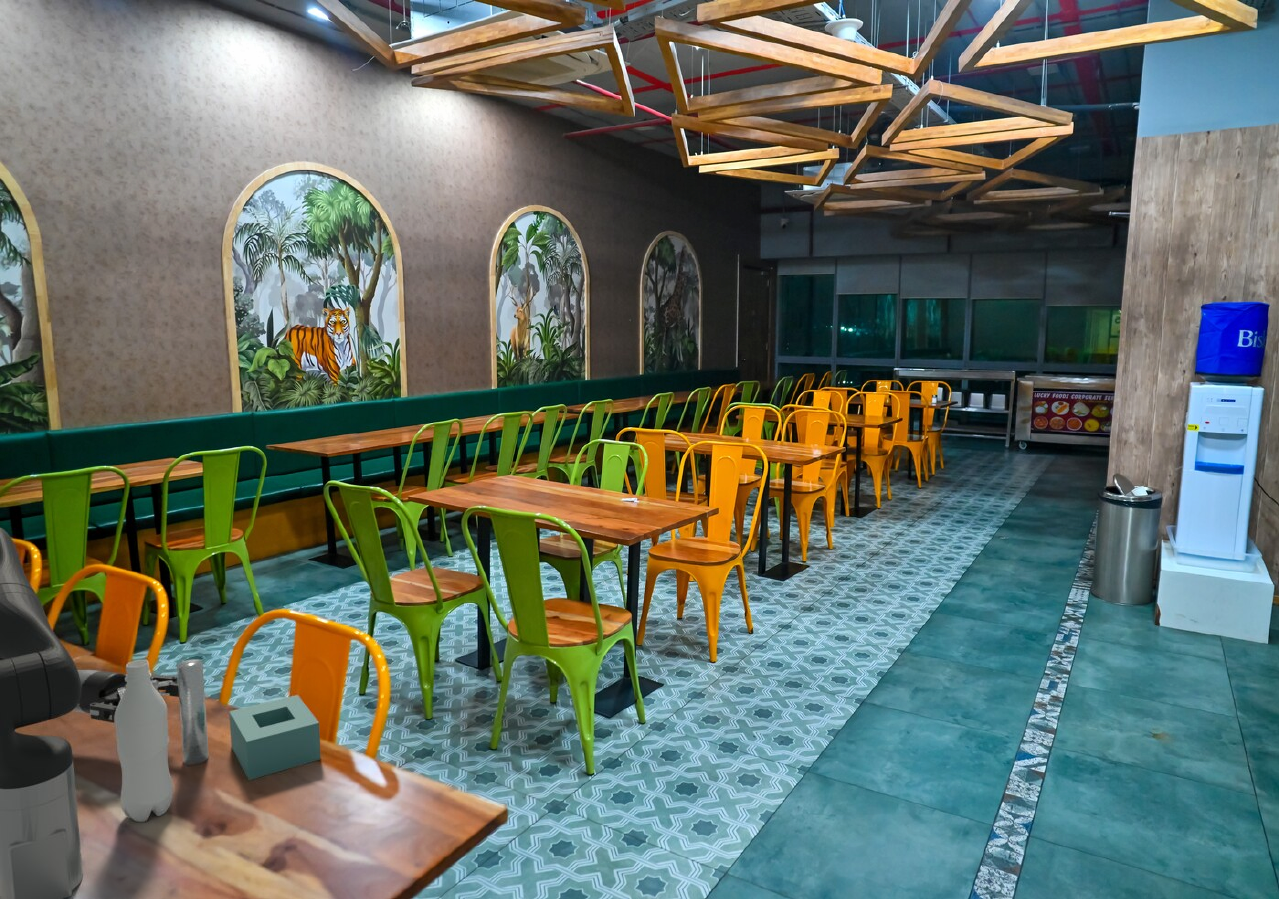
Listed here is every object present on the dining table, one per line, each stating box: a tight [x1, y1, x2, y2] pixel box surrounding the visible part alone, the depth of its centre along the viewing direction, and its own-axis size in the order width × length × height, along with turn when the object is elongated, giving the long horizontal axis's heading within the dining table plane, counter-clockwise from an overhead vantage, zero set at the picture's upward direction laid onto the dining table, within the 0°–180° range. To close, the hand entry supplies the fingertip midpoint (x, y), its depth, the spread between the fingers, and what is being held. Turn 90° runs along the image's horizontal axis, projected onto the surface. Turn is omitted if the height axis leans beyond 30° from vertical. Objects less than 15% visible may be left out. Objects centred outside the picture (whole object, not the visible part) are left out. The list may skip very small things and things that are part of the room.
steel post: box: [176, 658, 210, 766], centre depth 147 cm, size 4×4×18 cm
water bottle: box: [114, 659, 174, 823], centre depth 130 cm, size 7×7×25 cm
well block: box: [229, 694, 322, 781], centre depth 150 cm, size 14×12×7 cm
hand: (169, 701), depth 147 cm, fingers open, 8 cm apart
